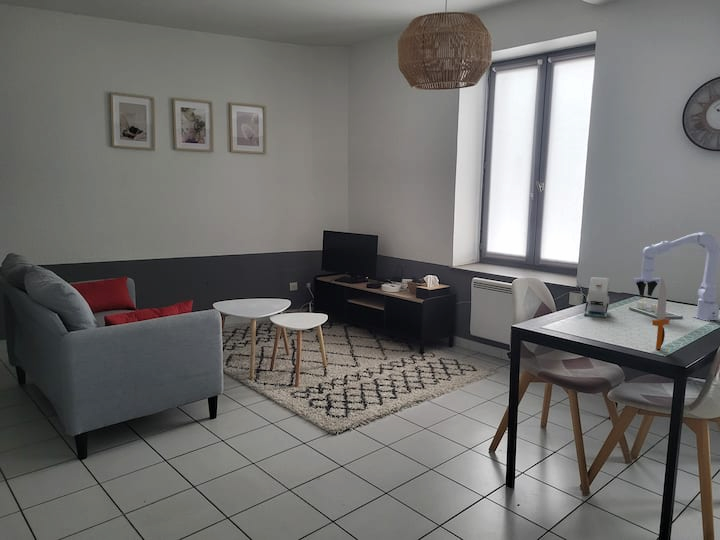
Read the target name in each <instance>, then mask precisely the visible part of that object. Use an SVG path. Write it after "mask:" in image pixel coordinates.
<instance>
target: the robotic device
mask: <svg viewBox="0 0 720 540" xmlns="http://www.w3.org/2000/svg"><path fill="white" fill-rule="evenodd" d="M609 287H610V278H609V277H600V276H599V277H597V276H592V277H590V282H589V287H588V291H587V292H588V293H587V297H586V302H585V308H584V312H583V315H584V317H586V316H587V317H594V318H602V319H603V318H604V319H607V313H608V310H609V309H608V308H609V303H610V296H609ZM587 312H588V313H587ZM593 313H598V314H593ZM602 314H604V315H602Z"/></svg>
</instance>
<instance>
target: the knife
mask: <svg viewBox="0 0 720 540" xmlns="http://www.w3.org/2000/svg"><path fill="white" fill-rule="evenodd" d="M660 278H661V282H659V283H660V286H659V289H658V290H659V291H658V297H657V299H658V300H657V304H658V308H657V319H656V318H655V319H653V320H652V324H651V325H652V326H655V327H657V330H656V331H657V332H656V333H657V335H656V342H655V343H656V344H655V350H656V349H661V350H662V345H664V342H665V335H666V334H665V328H664V326H665V325H668V324H670V319H666V318H665V312H666V310H667V288H666V284H665V280H664V279H663V277H660Z"/></svg>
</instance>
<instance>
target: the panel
mask: <svg viewBox="0 0 720 540" xmlns="http://www.w3.org/2000/svg"><path fill="white" fill-rule="evenodd" d="M628 310H630V311H631V312H635V313H638V314H641V315H644V316H647V317H650V318H653V319H655V320H656V319H657V314H655V312H654V311H651V306H646V309H639V308H637V306H633V307H631V306H630V307H628ZM665 318H666V319H669V320H681V319H682V318H683V319H684V316H683V315H679V314H676V313H674V312H671V311H666V312H665Z"/></svg>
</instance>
